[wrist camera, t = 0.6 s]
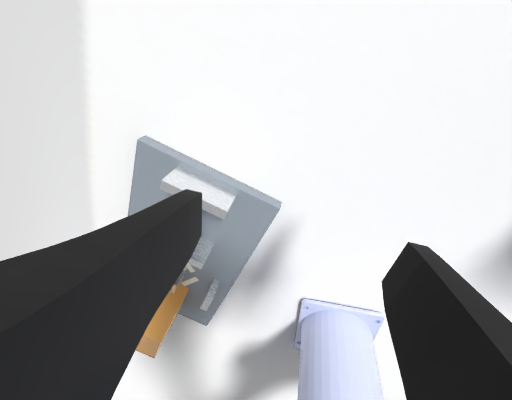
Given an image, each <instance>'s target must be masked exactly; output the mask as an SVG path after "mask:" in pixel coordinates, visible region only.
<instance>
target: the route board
mask: <svg viewBox="0 0 512 400" xmlns="http://www.w3.org/2000/svg"><path fill="white" fill-rule="evenodd" d="M178 165H180V166H182V167H184V168H186V169H188V170H190V171H192V172H194V173H196V174H198V175H200V176H202V177H204V178H206V179H208V180H210V181H212V182H215V183H217V184H219V185H221V186H223V187H225V188H227V189H229V190H231V191H233V192H235V193H237V196H236V198H235V200H234V202H233V204H232V206H231V207H230V209H229V211H228V213H227V215H226V217H225V219H222V218H219V217H217V216H215V215H213V214H211V213H209V212H207V211H205V210H203V209H202V235H201V237H200V238H202V239H204V240H207V241H209V242H211V243H213V244H214V245H213V248H212V250H211V252H210V254H209V255H208V257H207V259H206V261H205V263H204V265H203V267H202V269H199V268H197V267H195V266H193V265H190V264H188V263H187V265H186V267H187V270H186V272H185V275H184V277H183V279H182V281H181V282H180V284H181V285H183V286H185V287H187V288H189V290H188V292H187V294H186V297H185V299H184V301H183V304H182V306H181V308H180V310H179V312H178V313H179V314H181V315H183V316H186V317H188V318H190V319H192V320H195V321H197V322H199V323H201V324H203V325H206V326H207V325H208V323H209V322H210V320H211V319H212V317H213V315H214V314H215V312H216V311H217V309H218V307H219V306H220V304H221V303H222V301H223V299H224V298H225V296H226V295H227V293H228V291H229V290H230V288H231V287H232V285H233V283H234V282H235V280H236V279H237V277H238V275H239V274H240V272H241V271H242V269H243V267H244V266H245V264H246V263H247V261H248V259H249V258H250V256H251V255H252V253H253V251H254V250H255V248H256V247H257V245H258V243H259V242H260V240H261V239H262V237H263V235H264V234H265V232H266V231H267V229H268V227H269V226H270V224H271V223H272V221H273V219H274V218H275V216H276V215H277V213H278V211H279V210H280V207H281V203H282V202H280V201H278V200H276V199H274V198H272V197H270V196H268V195H266V194H264V193H262V192H260V191H258V190H256V189H254V188H252V187H250V186H248V185H246V184H243V183H241V182H239V181H237V180H235V179H233V178H231V177H229V176H227V175H225V174H223V173H221V172H219V171H217V170H215V169H213V168H211V167H209V166H207V165H205V164H203V163H200V162H198V161H196V160H194V159H192V158H190V157H188V156H186V155H184V154H182V153H180V152H178V151H176V150H174V149H172V148H170V147H168V146H166V145H164V144H162V143H160V142H157V141H155V140H153V139H151V138H149V137H147V136H143V137H141V138H140V139H138V140H137V147H136V155H135V163H134V171H133V179H132V187H131V195H130V203H129V211H128V216H130V215H133V214H135V213H137V212H139V211H141V210H143V209H145V208H147V207H149V206H152V205H154V204H156V203H158V202H160V201H162V200H164V199H166V198H168V197H170V196H172V195H171V194H169V193H167V192H165V191H163V190H161V189H160V185H161V180H162V179H163V178H165V177H166V176H167V175H168V174H169V173H170V172H171V171H173V170H174V169H175V168H176V167H177V166H178ZM214 279H216V280H218V281H220V283H219V285H218V288H217V290H216V293H215V295H214V298H213V300H212V302H211V304H210V306H209V307H208V309H207V311H204V310H202V309H200V307H201V305H202V303H203V300H204V298H205V296H206V294H207V292H208V289H209V287H210V285H211V284H212V282H213V280H214Z"/></svg>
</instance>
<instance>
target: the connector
mask: <svg viewBox="0 0 512 400" xmlns="http://www.w3.org/2000/svg"><path fill="white" fill-rule="evenodd" d="M188 290H189V288H187V287H185V286H183V285H181V284H179V286H178V288H177V289H176V291H175V293H174V295H173V296H171V295H169V294H167V296H166V297H165V299H164V300H163V302H162V304H161V305H160V307H159V308H158V310H157V311H156V313H155V315H154V316H153V318H152V320H151V321H150V323H149V325H148V327H147V329H146V331H145V333H144V335H143V336H142V338H141V340H140V342H139V344H138V346H137V348H136V351H139V352H141V353H143V354H146V355H148V356H150V357H152V358H155V356H156V354H157V352H158V350H159V348H160V346H161V344H162V342H163V340H164V338H165V336H166V335H167V333H168V331H169V329H170V327H171V325H172V323H173V321H174V319H175V317H176V315H177V313H178V312H179V310H180V308H181V306H182V304H183V301H184V299H185V297H186V294H187V292H188Z"/></svg>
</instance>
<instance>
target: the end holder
mask: <svg viewBox="0 0 512 400" xmlns="http://www.w3.org/2000/svg"><path fill="white" fill-rule="evenodd" d="M160 189H161V190H163V191H165V192H167V193H169V194H171V195H174V194H176V193H178V192H181V191H183V190H185V189H189V190H193V191H197V192H201V193H202V209H203V210H205V211H207V212H209V213H211V214H213V215H215V216H217V217H219V218H222V219H225V217H226V215H227V213H228V211H229V209H230V207H231V206H232V204H233V202H234V200H235V198H236V196H237V193H235V192H233V191H231V190H229V189H227V188H225V187H223V186H221V185H219V184H217V183H215V182H212V181H210V180H208V179H206V178H204V177H202V176H200V175H198V174H196V173H194V172H192V171H190V170H188V169H186V168H184V167H182V166H180V165H178V166H177V167H176V168H175V169H174V170H173V171H171V172H170V173H169V174H168V175H167V176H166V177H165V178H163V179H162V180H161V185H160ZM213 245H214V244H213V243H211V242H209V241H207V240H204V239H202V238H200V240H199V242H198V244H197V246H196V248H195V250H194V252H193V254H192V256H191V258H190V260H189V262H188V264H190V265H193V266H195V267H197V268H199V269H202V267H203V265H204V263H205V261H206V259H207V257H208V255H209V254H210V252H211V250H212V248H213Z"/></svg>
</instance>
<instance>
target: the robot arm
mask: <svg viewBox="0 0 512 400" xmlns="http://www.w3.org/2000/svg"><path fill="white" fill-rule="evenodd" d="M201 235H202V193H201V192H197V191H193V190H189V189H185V190H183V191H181V192H178V193H176V194H174V195H172V196H170V197H168V198H166V199H164V200H162V201H160V202H158V203H156V204H154V205H152V206H149V207H147V208H145V209H143V210H141V211H139V212H137V213H135V214H133V215H130V216H128V217H126V218H123V219H121V220H119V221H116V222H114V223H112V224H109V225H107V226H105V227H103V228H100V229H98V230H95V231H93V232H90V233H87V234H85V235H82V236H79V237H76V238H74V239H71V240H68V241H65V242H62V243H59V244H56V245H54V246H50V247H47V248H44V249H41V250H37V251H34V252H30V253H27V254H24V255H20V256H17V257H14V258H10V259H6V260H3V261H0V400H111V398H112V396H113V394H114V392H115V390H116V388H117V386H118V384H119V382H120V380H121V378H122V376H123V374H124V372H125V370H126V368H127V366H128V364H129V362H130V360H131V358H132V356H133V354H134V352H135V350H136V348H137V346H138V344H139V342H140V340H141V338H142V336H143V335H144V333H145V331H146V329H147V327H148V325H149V323H150V321H151V320H152V318H153V316H154V315H155V313H156V311H157V310H158V308H159V307H160V305H161V304H162V302H163V300H164V299H165V297H166V296H167V294H168V293H169V291H170V290H171V288H172V287H173V285H174V283H175V282H176V280H177V279H178V277H179V276H180V274H181V273H182V271H183V269H184V268H185V266H186V265H187V263H188V262H189V260H190V258H191V256H192V254H193V252H194V250H195V248H196V246H197V244H198V242H199V240H200V237H201ZM382 289H383V299H384V307H385V313H386V317H387V321H388V325H389V330H390V334H391V338H392V342H393V346H394V349H395V353H396V357H397V361H398V365H399V369H400V373H401V377H402V381H403V385H404V390H405V394H406V399H407V400H512V323H511V322H510V321H509V320H508V319H507V318H506V317H505V316H504V315H503V314H501V313H500V312H499V311H498V310H497V309H496V308H495V307H494V306H493V305H492V304H490V303H489V302H488V301H487V300H486V299H485V298H484V297H483V296H482V295H481V294H480V293H479V292H477V291H476V290H475V289H474V288H473V287H472V286H471V285H470V284H469V283H468V282H467V281H466V280H465V279H464V278H462V277H461V276H460V275H459V274H458V273H457V272H456V271H455V270H454V269H453V268H452V267H451V266H450V265H448V264H447V263H446V262H445V261H444V260H443V259H442V258H441V257H440V256H438V255H437V254H436V253H435V252H434V251H432V250H431V249H430V248H429V247H427V246H423V245H419V244H414V243H410V242H408V243H407V245H406V246H405V248H404V249H403V251H402V252H401V254H400V255H399V257H398V258H397V260H396V261H395V263H394V264H393V266H392V267H391V269H390V270H389V272H388V273H387V275H386V276H385V278H384V279H383V281H382ZM383 321H384V315H383V314H382V313H380V312H374V311H369V310H364V309H358V308H353V307H348V306H342V305H337V304H332V303H326V302H321V301H315V300H310V299H303V300H302V302H301V308H300V314H299V320H298V326H297V331H296V337H295V343H294V347H295V348H296V349H300V366H299V383H298V400H384V396H383V391H382V385H381V380H380V375H379V369H378V364H377V358H376V353H375V348H374V342H373V341H374V339H375V337H376V335H377V333H378V331H379V329H380V327H381V325H382V323H383Z"/></svg>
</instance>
